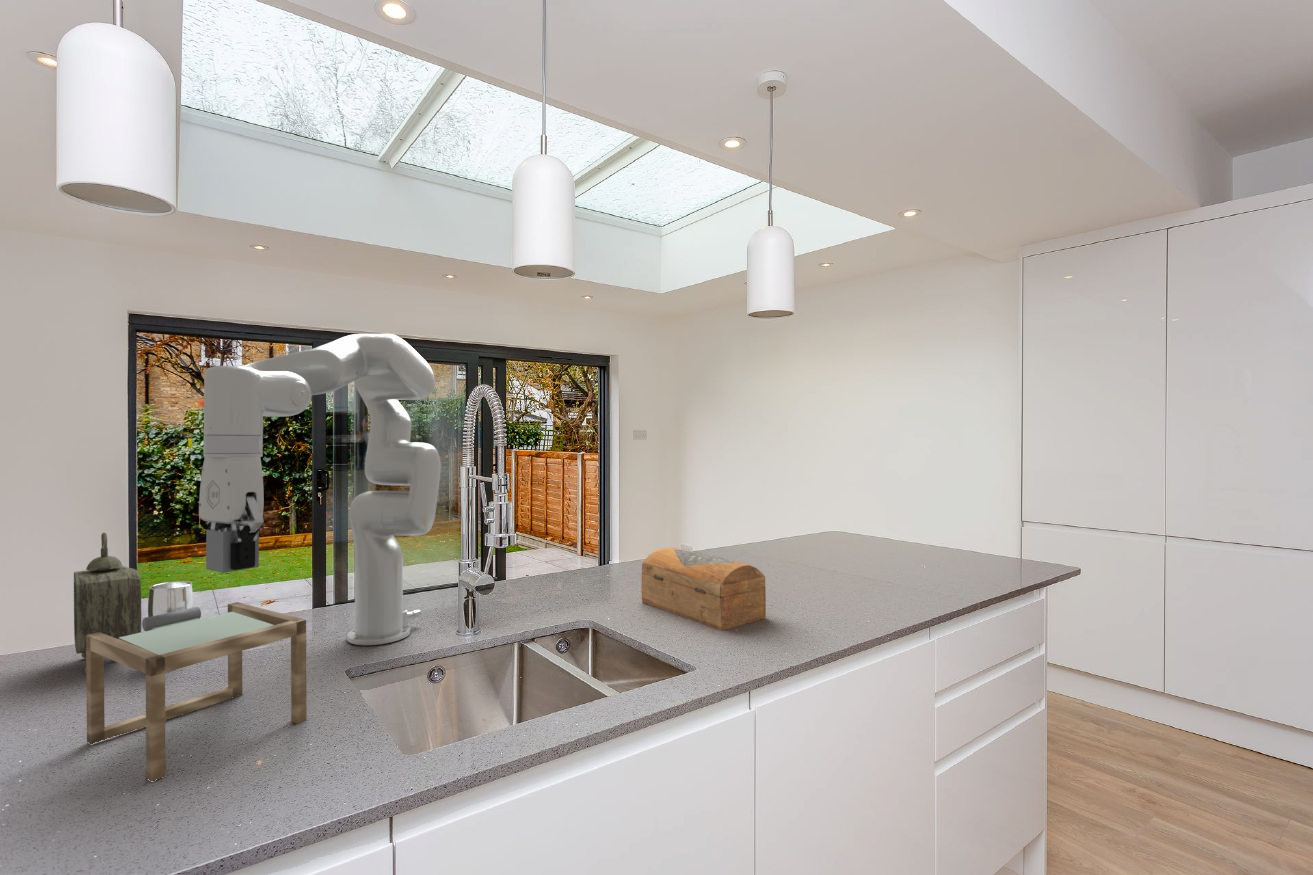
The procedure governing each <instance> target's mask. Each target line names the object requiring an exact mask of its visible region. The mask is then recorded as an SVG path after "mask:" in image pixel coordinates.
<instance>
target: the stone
mask: <svg viewBox="0 0 1313 875" xmlns="http://www.w3.org/2000/svg"><path fill="white" fill-rule="evenodd" d="M243 527H244V526H240V531H241V530H242V529H243ZM205 534H206V539H205V541H206V543H205V544H206V546H205V547H206V548H205V552H206V553H205V556H206V558H205V561H206V562H205V570H208V571H212V572H217V573H220V574H221V573H222V574H225V573H230V572H231V573H232V572H237V571H243V570H249V569H256V568H259V567H260V564H259V563H260V558H259V557H260V550H259V549H260V529H259V530H258V532H257V540H256V541H255V566H254V567H251V568H244V569H238V570H232V569H231V543H235V542H234V539H233V532H232V527H228V528H218V529H210V528H209V529H206V533H205Z"/></svg>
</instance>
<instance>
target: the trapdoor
mask: <svg viewBox="0 0 1313 875" xmlns="http://www.w3.org/2000/svg"><path fill="white" fill-rule="evenodd" d="M269 626H273V625H272V624H269V623H266V622H263V621H260V620H257V619H254V618H251V617H247V616H244V615H241V614H238V613H235V612H228V611H227V612H225V613H220V614H216V615H211V616H207V617H204V618H202V611H201V608H200V607H199V606H193V608H189V609H184V610H180V611H175V612H170V613H166V614H161V615H156V616H151V617H148V616H147V617H144V618H143V619H142V620H141V628H142V629H143V631H141V633H137V634H132V635H128V636H123V637H119V640H121V641H124V642H127V643H129V644H132V645H134V646H137V647H140V648H142V649H145V650H148V651H150V652H153V653H155V654H158V655H161V654H165V653H169V652H173V651H177V650H181V649H185V648H188V647H192V646H196V645H200V644H204V643H208V642H212V641H215V640H219V639H223V638H227V637H231V636H235V635H238V634H242V633H246V632H250V631H254V630H258V629H262V628H265V627H269Z"/></svg>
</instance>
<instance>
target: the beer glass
mask: <svg viewBox="0 0 1313 875" xmlns="http://www.w3.org/2000/svg"><path fill="white" fill-rule="evenodd" d="M194 604H195V603H194V591H193V582H192V581H189V580H176V581H168V582H163V583H162V582H161V583H156V584H153V585H151V586H149V590H148V597H147V617H151V616H156V615H161V614H166V613H170V612H175V611H180V610H184V609H189V608H194V607H195V606H194Z"/></svg>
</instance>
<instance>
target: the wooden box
mask: <svg viewBox="0 0 1313 875" xmlns="http://www.w3.org/2000/svg"><path fill="white" fill-rule="evenodd" d="M641 565H642V566H641V591H640V592H641V602H642V603H643V604H645V605H649V606H650V607H651V606H652V607H655V608H656V609H657V608H658V609H659V608H660V609H659V610H662V611H666V612H668V613H672V614H674V615H676V616H680V617H683V618H684V619H689V620H691V621H694V622H696V623H700V624H702V625H705V626H708V627H711V628H714V629H716V630H720V631H725V630H729V629H733V628H735V627H740V626H742V625H747V624H749V623H754V622H757V621H761V620H760V619H762V620H765V619H766V612H767V610H766V606H767V605H766V602H767V600H766V598H767V597H766V589H767V588H766V576H765V574H763V572H762V571H760V569H758V568H757V567H755V566H752V565H750V564H748V563H745V562H744V563H743V562H740V561H735V560H730V559H727V558H723V557H719V556H715V555H710V554H706V553H702V552H695V551H691V550H685V549H680V548H676V547H665V548H661V549H657V550H655V551H653V552H651V553H650V554H648V555H647V557H645V559H644V560H643V562H642V564H641ZM746 623H747V624H746Z"/></svg>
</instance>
